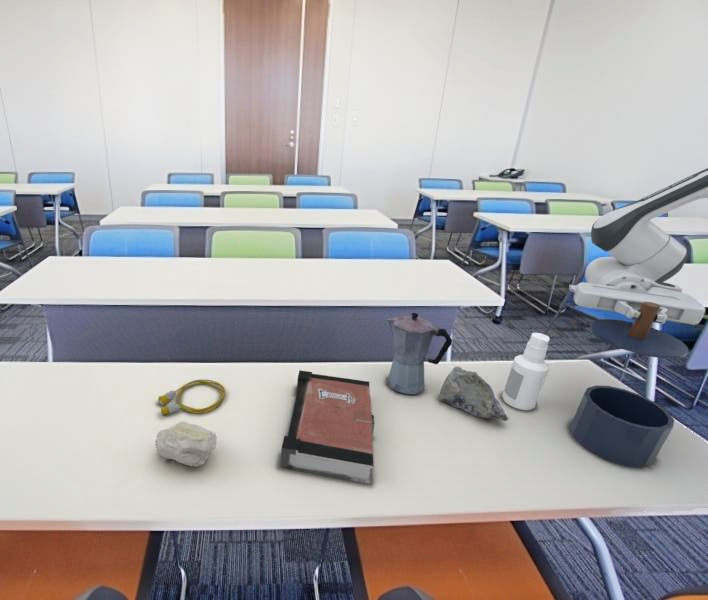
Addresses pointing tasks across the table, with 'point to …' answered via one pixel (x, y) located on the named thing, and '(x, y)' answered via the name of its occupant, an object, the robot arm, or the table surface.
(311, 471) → the book
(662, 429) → the pot
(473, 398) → the mineral rock
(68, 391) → the table surface
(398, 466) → the table surface
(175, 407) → the extension cord
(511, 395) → the spray bottle
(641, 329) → the lid
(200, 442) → the white rock
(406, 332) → the moka pot
